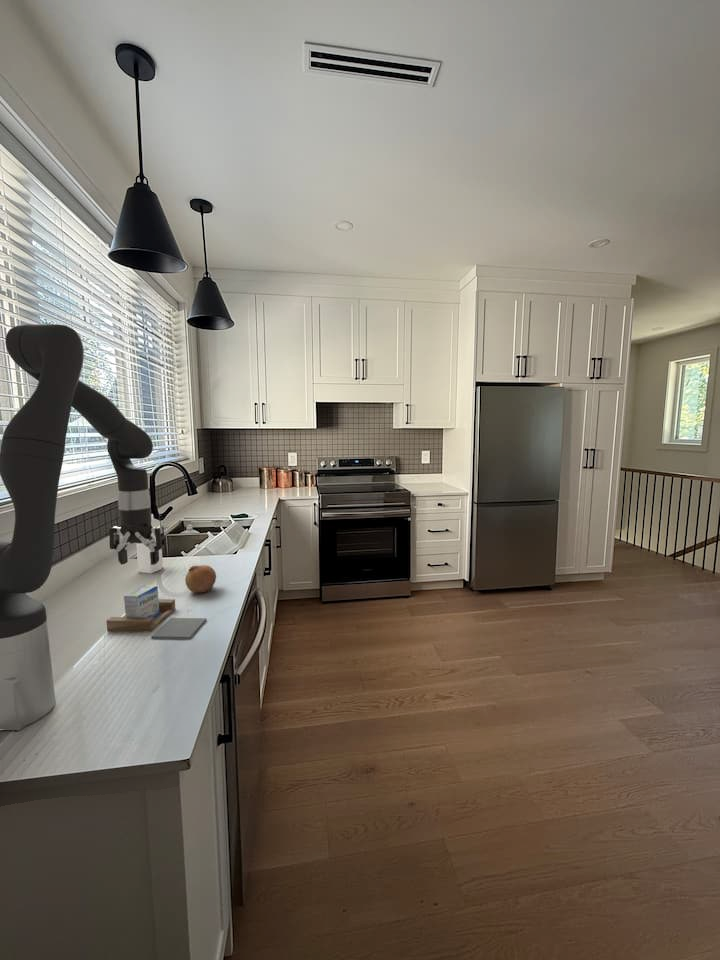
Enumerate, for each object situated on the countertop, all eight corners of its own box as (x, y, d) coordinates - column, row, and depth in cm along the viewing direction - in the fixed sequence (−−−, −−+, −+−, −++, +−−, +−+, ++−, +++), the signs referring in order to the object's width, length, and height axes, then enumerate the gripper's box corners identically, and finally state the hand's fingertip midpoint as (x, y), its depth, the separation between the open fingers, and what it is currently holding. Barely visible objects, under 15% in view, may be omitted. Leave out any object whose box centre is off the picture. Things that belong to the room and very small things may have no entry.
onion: (190, 602, 129) (173, 578, 126) (206, 584, 137) (191, 561, 134) (211, 596, 125) (194, 571, 122) (227, 578, 134) (211, 554, 131)
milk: (150, 567, 154) (147, 511, 151) (163, 568, 152) (159, 512, 149) (137, 572, 148) (133, 514, 145) (150, 573, 146) (146, 515, 144)
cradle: (150, 631, 104) (149, 621, 103) (107, 631, 104) (106, 620, 104) (175, 609, 117) (174, 599, 117) (137, 608, 117) (136, 598, 117)
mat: (190, 639, 100) (189, 636, 100) (151, 638, 101) (151, 636, 100) (206, 620, 110) (206, 618, 110) (171, 619, 110) (171, 617, 110)
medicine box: (139, 627, 106) (137, 596, 105) (125, 625, 107) (123, 595, 106) (160, 614, 114) (158, 585, 113) (146, 612, 115) (144, 584, 114)
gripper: (99, 508, 103) (105, 568, 105) (153, 509, 103) (157, 568, 105) (118, 503, 111) (122, 559, 113) (167, 503, 110) (171, 559, 112)
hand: (139, 563), depth 109 cm, fingers open, 8 cm apart
